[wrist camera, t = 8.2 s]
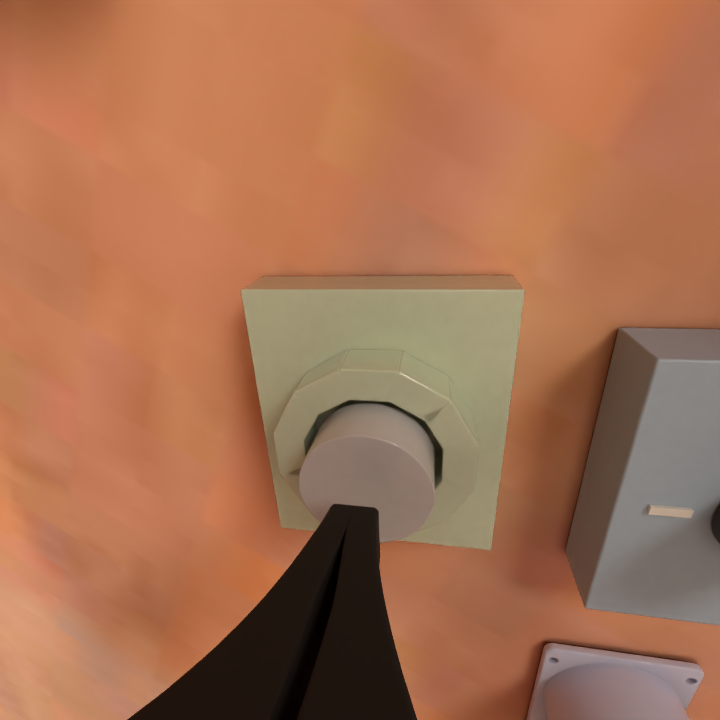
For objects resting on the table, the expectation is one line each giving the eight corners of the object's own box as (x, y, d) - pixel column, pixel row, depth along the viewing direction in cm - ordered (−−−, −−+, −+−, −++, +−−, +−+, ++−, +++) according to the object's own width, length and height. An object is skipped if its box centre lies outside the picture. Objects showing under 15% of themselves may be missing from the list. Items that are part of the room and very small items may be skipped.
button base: (485, 513, 20) (496, 587, 16) (294, 496, 22) (266, 559, 18) (513, 274, 15) (538, 305, 11) (262, 276, 17) (215, 303, 13)
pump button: (433, 506, 16) (432, 550, 14) (319, 495, 16) (305, 536, 15) (437, 405, 14) (437, 440, 12) (309, 398, 15) (291, 431, 13)
